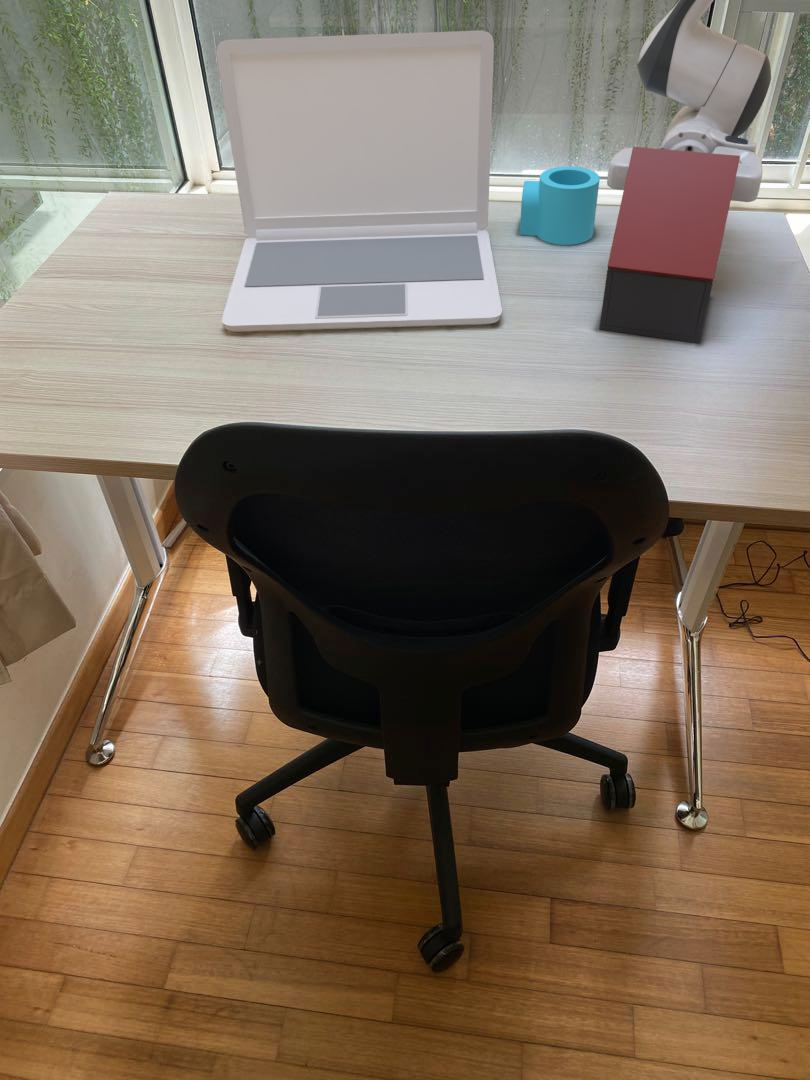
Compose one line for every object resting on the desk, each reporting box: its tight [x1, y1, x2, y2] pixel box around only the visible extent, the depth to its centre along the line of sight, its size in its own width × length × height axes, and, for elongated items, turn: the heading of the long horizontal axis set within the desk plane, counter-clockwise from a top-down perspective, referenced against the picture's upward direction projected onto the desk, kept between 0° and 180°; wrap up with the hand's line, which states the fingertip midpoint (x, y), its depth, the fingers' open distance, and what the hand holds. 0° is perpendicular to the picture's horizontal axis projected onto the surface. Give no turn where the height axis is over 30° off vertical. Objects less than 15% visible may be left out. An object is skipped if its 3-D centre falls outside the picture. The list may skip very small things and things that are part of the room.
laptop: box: [216, 29, 503, 333], centre depth 124 cm, size 40×31×31 cm
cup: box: [519, 165, 601, 246], centre depth 143 cm, size 12×9×9 cm
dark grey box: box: [598, 267, 714, 344], centre depth 122 cm, size 14×14×9 cm
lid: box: [607, 146, 740, 282], centre depth 114 cm, size 16×14×1 cm
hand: (677, 196), depth 115 cm, fingers closed
